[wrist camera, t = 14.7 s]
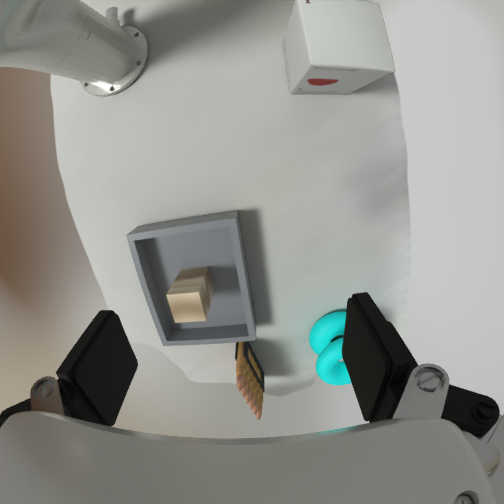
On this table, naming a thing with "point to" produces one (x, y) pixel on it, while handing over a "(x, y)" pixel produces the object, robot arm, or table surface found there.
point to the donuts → (330, 348)
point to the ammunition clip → (249, 377)
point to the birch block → (191, 295)
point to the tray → (192, 256)
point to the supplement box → (335, 46)
